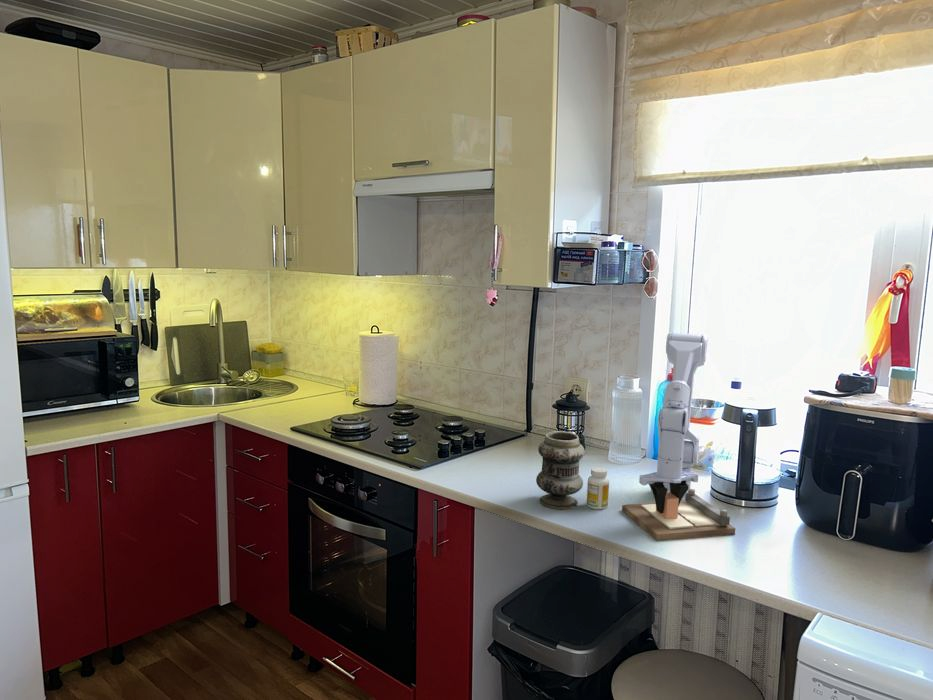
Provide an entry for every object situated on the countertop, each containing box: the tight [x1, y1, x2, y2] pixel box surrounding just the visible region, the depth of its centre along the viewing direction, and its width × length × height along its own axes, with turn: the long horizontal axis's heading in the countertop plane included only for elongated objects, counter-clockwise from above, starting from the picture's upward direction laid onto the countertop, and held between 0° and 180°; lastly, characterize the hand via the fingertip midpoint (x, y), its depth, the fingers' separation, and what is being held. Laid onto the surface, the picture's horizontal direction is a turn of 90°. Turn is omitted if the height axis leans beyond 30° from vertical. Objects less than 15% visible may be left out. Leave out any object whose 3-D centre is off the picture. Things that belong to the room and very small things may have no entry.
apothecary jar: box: [535, 430, 586, 510], centre depth 176 cm, size 12×12×18 cm
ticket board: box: [621, 488, 736, 542], centre depth 166 cm, size 18×20×5 cm
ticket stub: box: [641, 491, 693, 529], centre depth 165 cm, size 14×6×5 cm, turn 13°
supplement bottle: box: [586, 466, 610, 510], centre depth 175 cm, size 5×5×10 cm
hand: (666, 511), depth 165 cm, fingers closed on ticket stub, 3 cm apart
